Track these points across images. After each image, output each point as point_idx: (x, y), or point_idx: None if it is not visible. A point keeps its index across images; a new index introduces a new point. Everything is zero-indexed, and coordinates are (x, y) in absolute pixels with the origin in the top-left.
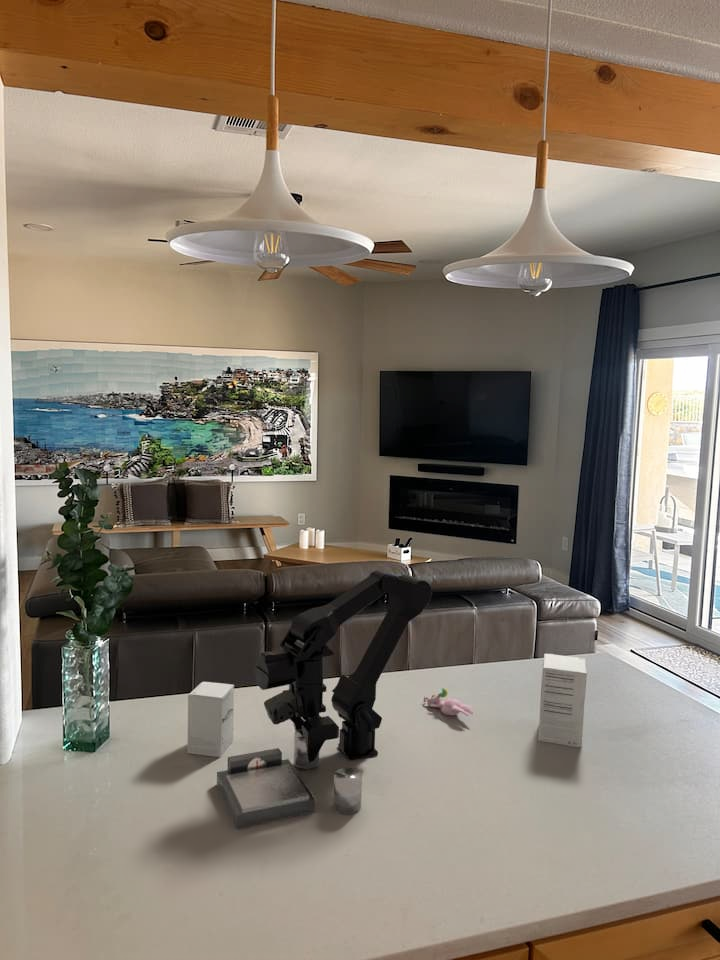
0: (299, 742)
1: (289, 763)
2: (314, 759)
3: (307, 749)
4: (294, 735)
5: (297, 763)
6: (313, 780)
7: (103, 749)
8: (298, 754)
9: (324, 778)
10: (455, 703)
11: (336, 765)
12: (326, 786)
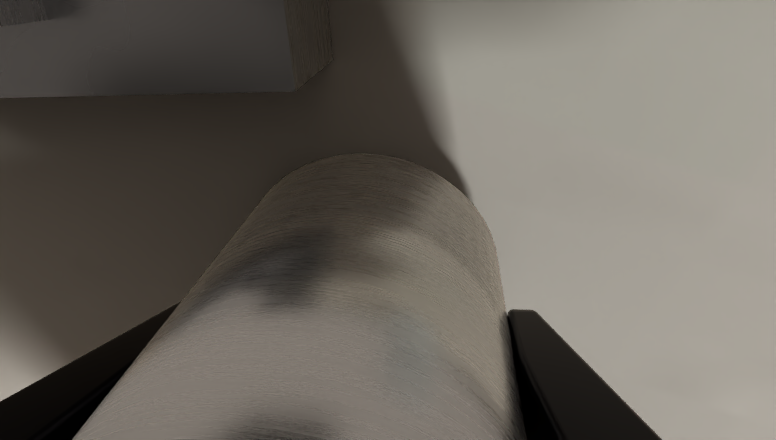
0: (110, 395)
1: (165, 69)
2: None
3: (36, 402)
4: (306, 434)
5: (291, 182)
6: (123, 228)
7: None
8: (234, 245)
9: (148, 309)
10: None
11: None
12: (32, 283)
